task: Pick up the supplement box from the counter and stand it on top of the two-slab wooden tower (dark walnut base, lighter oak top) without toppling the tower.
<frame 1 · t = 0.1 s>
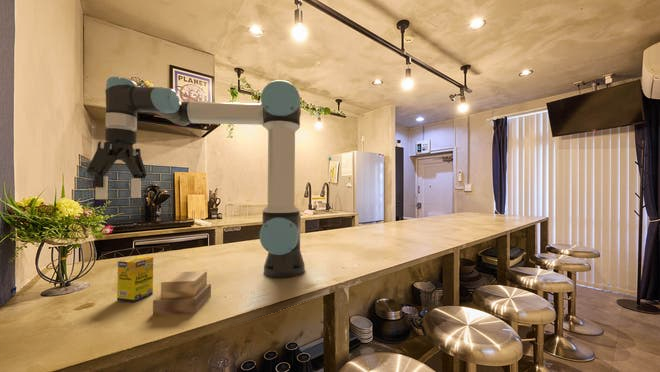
hand: (120, 198, 78), 28 cm above the counter, fingers open, 13 cm apart
walnut base block: (184, 306, 67), on the counter, touching oak block
supplement box: (135, 298, 72), on the counter
oak block: (185, 291, 67), point 4 cm above the counter, touching walnut base block
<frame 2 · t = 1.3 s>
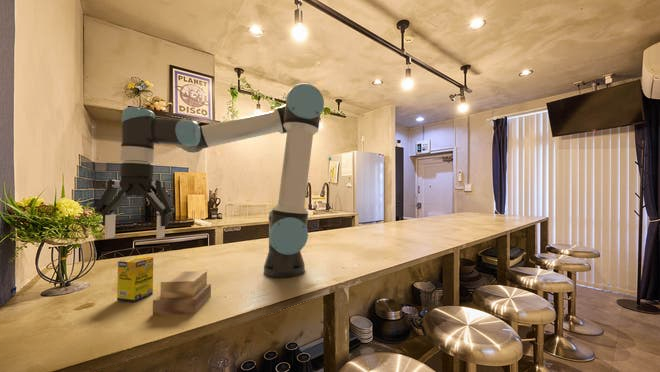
hand: (135, 237, 72), 17 cm above the counter, fingers open, 13 cm apart
nothing on the counter moved.
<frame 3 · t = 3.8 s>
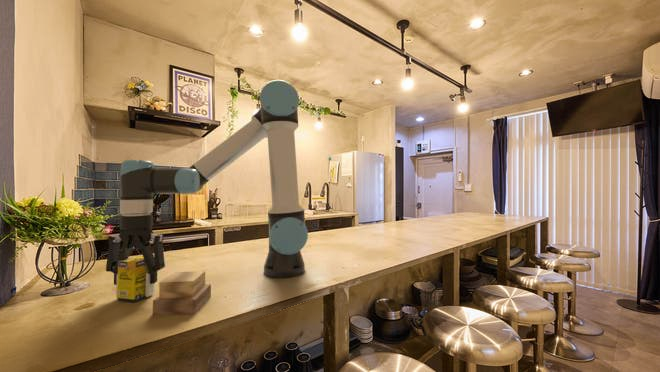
hand: (135, 295, 72), 1 cm above the counter, fingers closed on supplement box, 7 cm apart
supplement box: (135, 298, 72), on the counter, touching gripper
everything else where it was.
when the fingers open (10 cm above the counter, at t = 9.7 s): supplement box drops 2 cm, resting on oak block.
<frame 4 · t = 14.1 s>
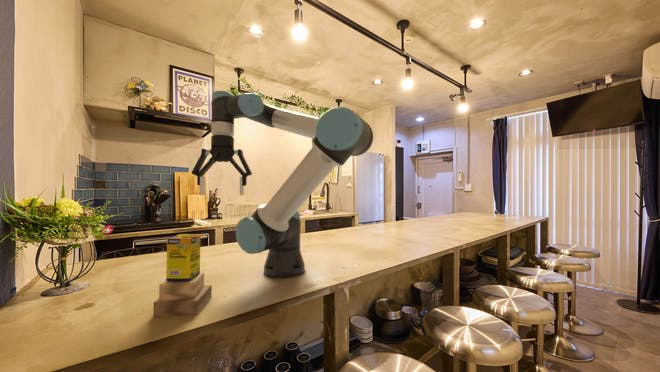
hand: (222, 195, 91), 29 cm above the counter, fingers open, 13 cm apart
supplement box: (183, 278, 67), point 7 cm above the counter, touching oak block
oak block: (183, 293, 66), point 3 cm above the counter, touching supplement box, walnut base block
at the end: supplement box 0.3 cm off-centre on the oak block, point 3.9 cm above the oak block's base; supplement box tilted 2°; oak block moved 1.1 cm from its start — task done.
